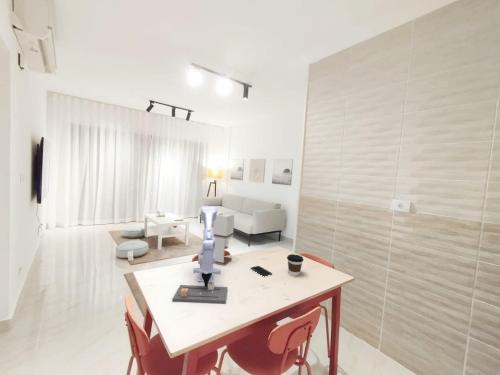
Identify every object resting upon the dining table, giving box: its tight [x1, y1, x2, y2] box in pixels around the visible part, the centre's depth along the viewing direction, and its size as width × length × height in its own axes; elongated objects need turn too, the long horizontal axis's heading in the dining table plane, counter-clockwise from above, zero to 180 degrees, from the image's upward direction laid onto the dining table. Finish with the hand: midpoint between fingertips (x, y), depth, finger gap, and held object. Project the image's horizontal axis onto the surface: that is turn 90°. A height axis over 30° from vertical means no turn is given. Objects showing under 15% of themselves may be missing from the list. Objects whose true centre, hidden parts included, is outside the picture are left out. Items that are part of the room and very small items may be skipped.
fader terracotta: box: [181, 288, 188, 297], centre depth 114 cm, size 3×3×3 cm
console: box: [172, 284, 229, 305], centre depth 119 cm, size 14×26×2 cm, turn 92°
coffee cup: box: [286, 253, 304, 277], centre depth 152 cm, size 11×11×12 cm
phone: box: [250, 265, 273, 278], centre depth 153 cm, size 8×1×15 cm
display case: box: [212, 212, 235, 267], centre depth 165 cm, size 11×11×35 cm
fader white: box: [208, 281, 215, 290], centre depth 123 cm, size 3×3×3 cm
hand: (206, 286), depth 123 cm, fingers closed
